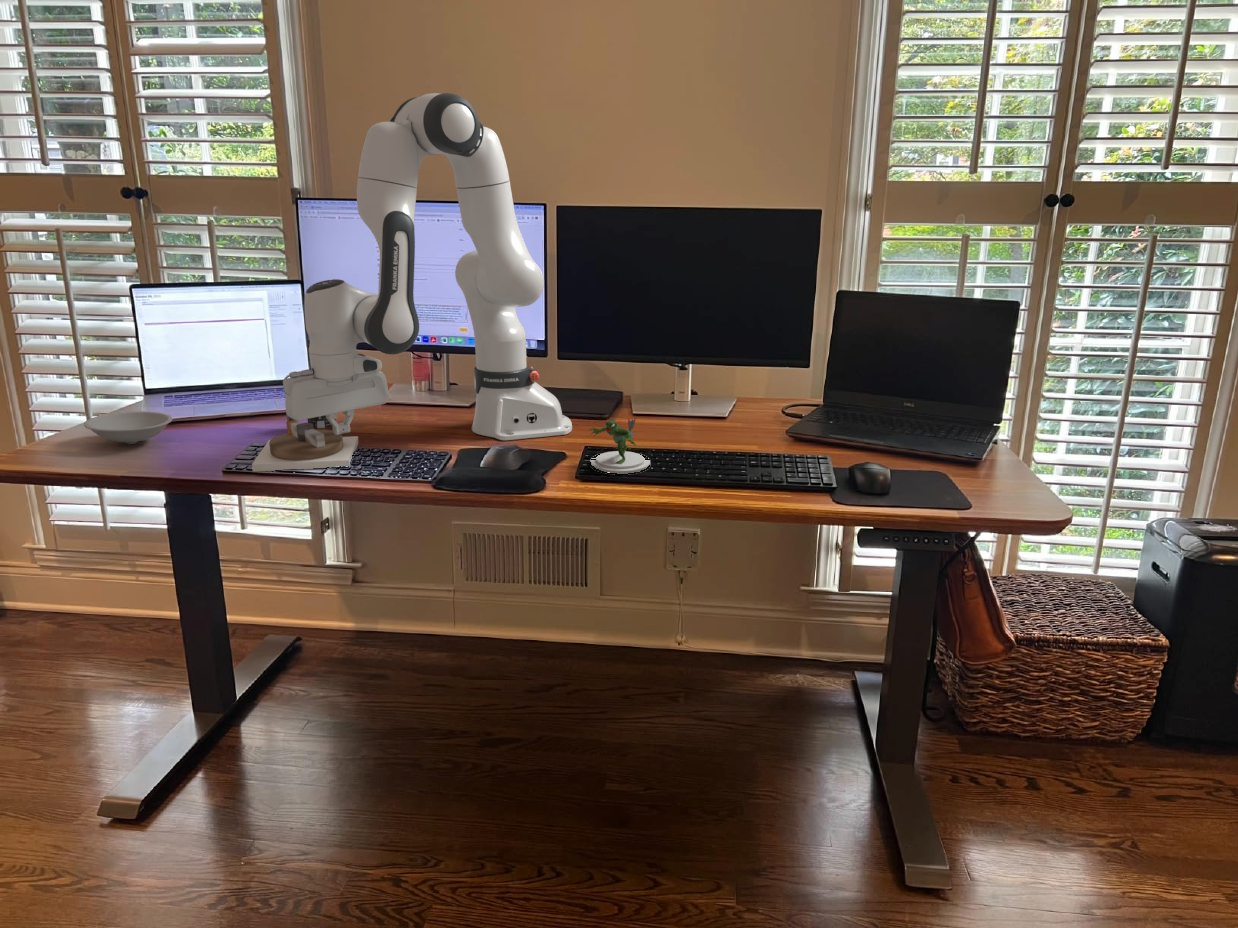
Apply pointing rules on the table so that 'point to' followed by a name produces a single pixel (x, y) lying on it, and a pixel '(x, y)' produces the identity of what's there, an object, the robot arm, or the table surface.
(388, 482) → the table surface
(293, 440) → the dial
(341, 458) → the dial base
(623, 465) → the monster figurine
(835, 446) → the table surface
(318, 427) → the supplement bottle
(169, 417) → the dish
